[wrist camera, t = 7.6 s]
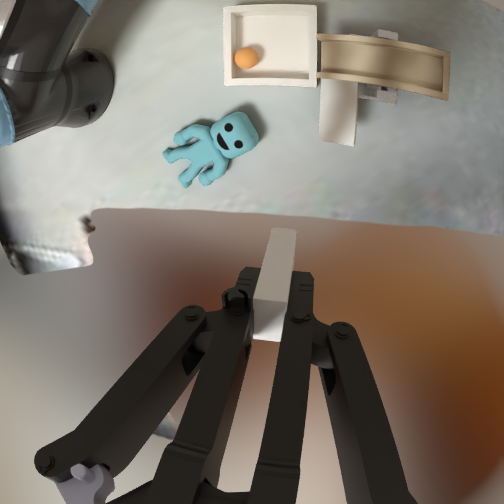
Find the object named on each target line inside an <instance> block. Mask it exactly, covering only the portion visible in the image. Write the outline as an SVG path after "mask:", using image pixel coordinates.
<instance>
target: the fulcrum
mask: <svg viewBox="0 0 504 504" xmlns="http://www.w3.org/2000/svg"><path fill="white" fill-rule="evenodd" d="M349 35H355V36H362V35H356V34H349ZM366 37H368V36H366ZM369 37H375V38H383V39H390V40H396V41H398V33H395V32H391V31H386V30H382V29H377V30H376V31H375V32H374V33H372V34H371V35H370V36H369ZM358 98H363V99H369V100H376V101H381V102H387V103H392V104H396V100H397V89H395V88H389V87H384V86H378V85H372V84H365V83H359V95H358Z"/></svg>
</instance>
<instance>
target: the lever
mask: <svg viewBox="0 0 504 504" xmlns="http://www.w3.org/2000/svg"><path fill="white" fill-rule="evenodd" d="M316 39H317V40H319V41H321V72H316V78H321V96H320V121H319V140H320V141H326V142H332V143H338V144H343V145H349V146H355V139H356V127H357V113H358V95H359V83H365V84H372V85H378V86H384V87H389V88H395V89H400V90H405V91H409V92H414V93H418V94H422V95H426V96H430V97H434V98H438V99H442V100H445V101H447V100H448V95H449V77H450V52H447V51H443V50H440V49H436V48H431V47H427V46H423V45H418V44H413V43H408V42H402V41H396V40H390V39H383V38H375V37H366V36H355V35H340V34H316Z"/></svg>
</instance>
